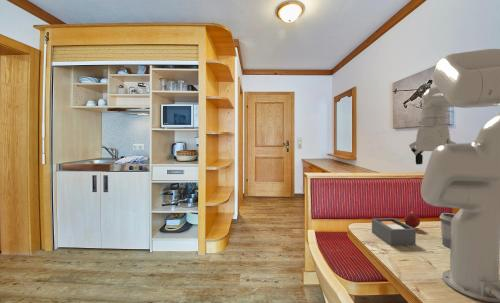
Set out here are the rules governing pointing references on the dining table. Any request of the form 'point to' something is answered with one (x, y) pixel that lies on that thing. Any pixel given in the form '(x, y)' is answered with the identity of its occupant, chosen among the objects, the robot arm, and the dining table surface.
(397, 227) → the rocker
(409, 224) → the onion
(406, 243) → the switch box
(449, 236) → the cup
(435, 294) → the dining table surface
